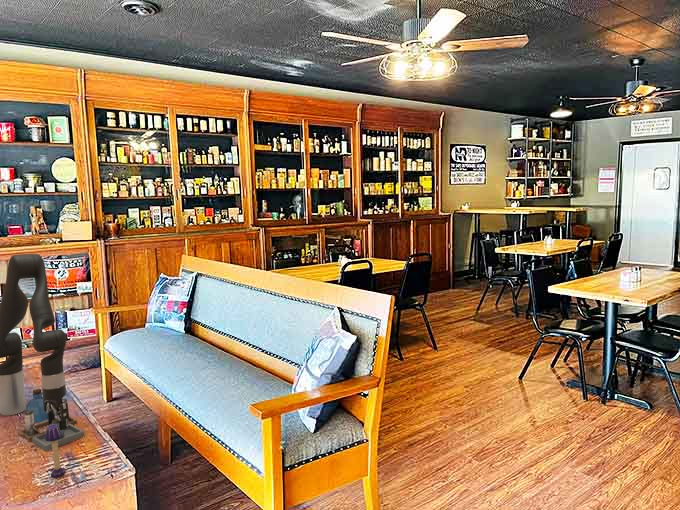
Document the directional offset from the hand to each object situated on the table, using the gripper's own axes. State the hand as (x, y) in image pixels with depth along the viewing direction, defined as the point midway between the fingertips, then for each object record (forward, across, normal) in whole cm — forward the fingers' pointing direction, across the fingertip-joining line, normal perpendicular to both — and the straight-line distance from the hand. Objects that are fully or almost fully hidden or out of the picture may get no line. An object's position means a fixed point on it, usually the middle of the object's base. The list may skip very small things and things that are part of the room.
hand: (57, 426), depth 188 cm
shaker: (+5, 0, 0) cm, 5 cm away
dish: (+5, 0, 0) cm, 5 cm away
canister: (+5, -12, +8) cm, 15 cm away
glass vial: (+5, -12, -5) cm, 14 cm away
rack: (+5, -12, +2) cm, 13 cm away
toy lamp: (+5, +24, -12) cm, 27 cm away
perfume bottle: (+6, -25, +4) cm, 26 cm away
